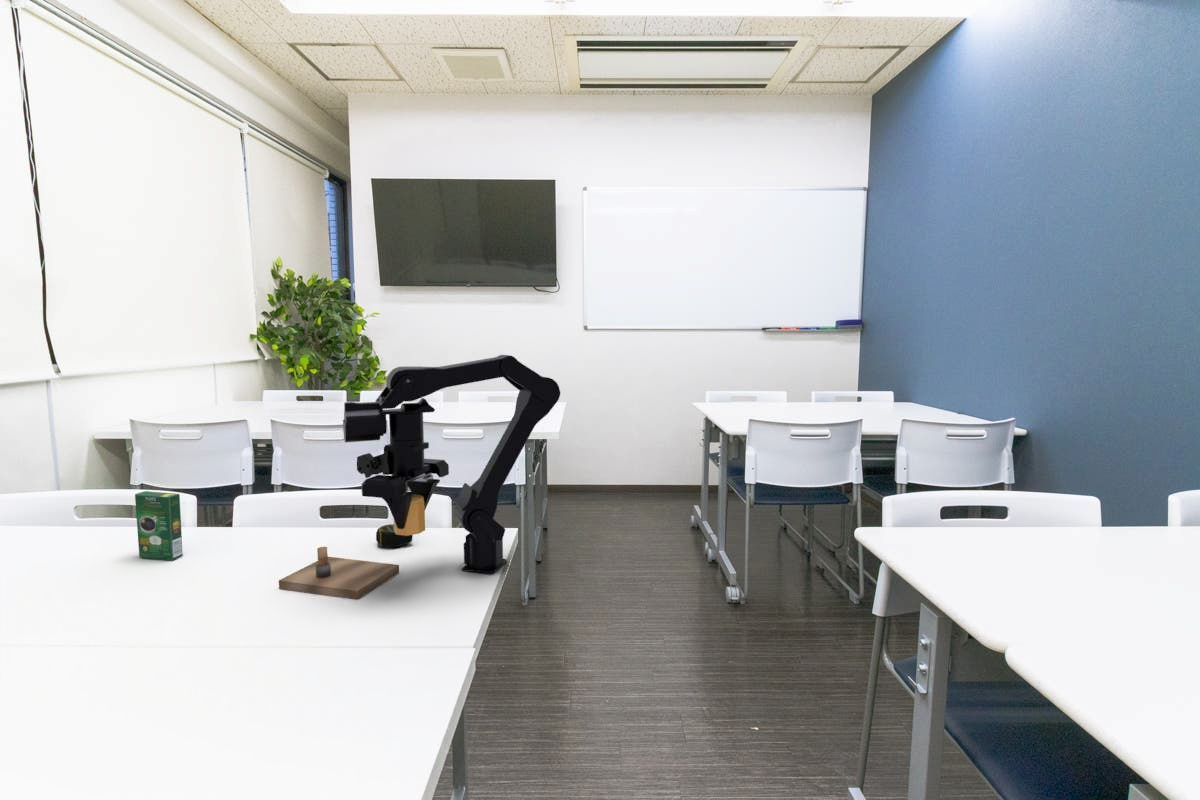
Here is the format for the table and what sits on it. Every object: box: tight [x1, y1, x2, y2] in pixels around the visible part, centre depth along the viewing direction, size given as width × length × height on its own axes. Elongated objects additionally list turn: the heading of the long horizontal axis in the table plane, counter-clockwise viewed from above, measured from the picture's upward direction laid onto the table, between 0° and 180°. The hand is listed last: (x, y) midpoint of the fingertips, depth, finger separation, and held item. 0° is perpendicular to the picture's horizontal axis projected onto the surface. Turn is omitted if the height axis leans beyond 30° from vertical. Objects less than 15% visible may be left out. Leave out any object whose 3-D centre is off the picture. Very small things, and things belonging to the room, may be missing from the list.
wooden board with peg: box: [278, 546, 400, 600], centre depth 111 cm, size 16×12×6 cm
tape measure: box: [375, 523, 414, 548], centre depth 131 cm, size 7×7×4 cm
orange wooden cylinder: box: [393, 494, 426, 536], centre depth 111 cm, size 5×5×6 cm
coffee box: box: [134, 490, 184, 561], centre depth 122 cm, size 8×3×13 cm, turn 79°
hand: (409, 524), depth 111 cm, fingers closed on orange wooden cylinder, 5 cm apart
